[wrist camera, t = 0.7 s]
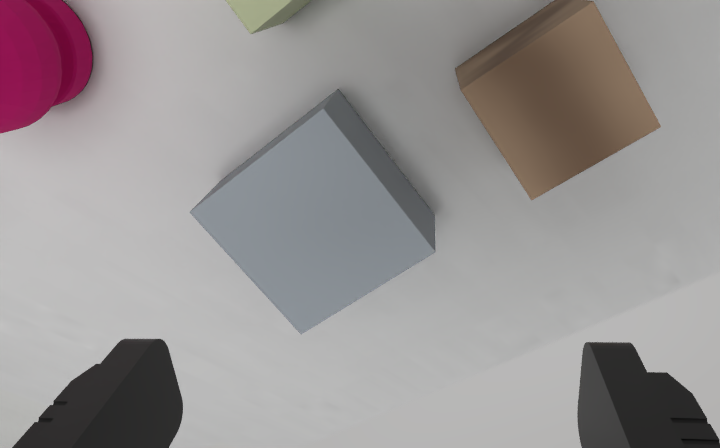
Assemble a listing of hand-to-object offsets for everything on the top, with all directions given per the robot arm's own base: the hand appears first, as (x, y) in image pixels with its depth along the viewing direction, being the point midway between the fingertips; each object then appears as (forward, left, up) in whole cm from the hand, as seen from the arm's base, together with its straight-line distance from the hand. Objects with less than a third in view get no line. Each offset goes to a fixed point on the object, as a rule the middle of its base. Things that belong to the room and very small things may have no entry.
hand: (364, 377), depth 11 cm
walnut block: (-7, +2, -22) cm, 23 cm away
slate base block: (+6, +1, -22) cm, 23 cm away
